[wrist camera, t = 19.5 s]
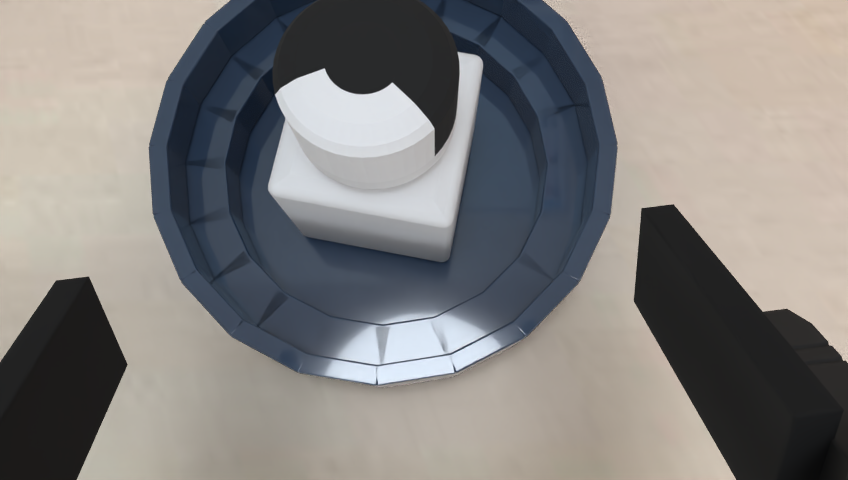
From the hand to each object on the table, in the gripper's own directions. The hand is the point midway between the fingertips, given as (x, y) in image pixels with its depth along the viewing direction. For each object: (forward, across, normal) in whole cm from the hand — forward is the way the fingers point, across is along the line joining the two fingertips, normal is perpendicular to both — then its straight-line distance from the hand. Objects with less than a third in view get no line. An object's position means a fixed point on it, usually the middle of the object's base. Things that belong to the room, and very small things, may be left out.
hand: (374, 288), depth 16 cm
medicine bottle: (+16, 0, -5) cm, 17 cm away
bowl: (+16, 0, -5) cm, 17 cm away
